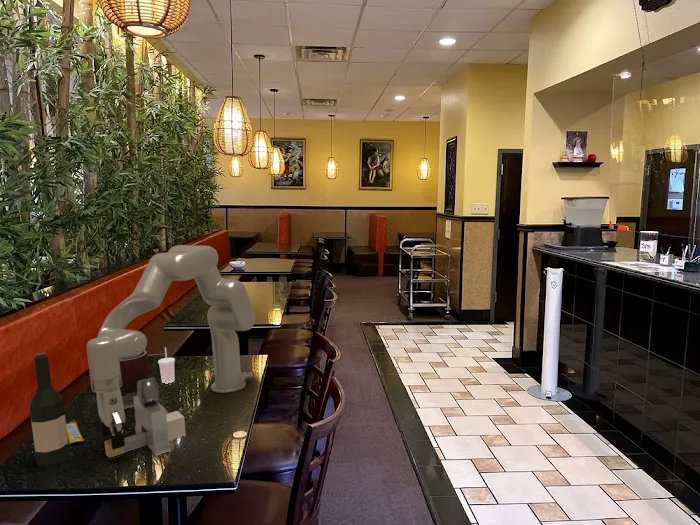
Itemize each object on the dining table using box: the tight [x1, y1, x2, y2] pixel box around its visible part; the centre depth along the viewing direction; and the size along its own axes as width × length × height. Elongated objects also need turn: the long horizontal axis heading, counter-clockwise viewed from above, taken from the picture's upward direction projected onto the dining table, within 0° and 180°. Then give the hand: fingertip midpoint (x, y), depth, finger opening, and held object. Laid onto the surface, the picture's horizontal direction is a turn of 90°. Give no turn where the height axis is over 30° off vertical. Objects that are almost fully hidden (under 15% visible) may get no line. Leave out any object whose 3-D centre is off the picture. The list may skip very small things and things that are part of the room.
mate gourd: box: [119, 349, 151, 410], centre depth 178 cm, size 16×14×20 cm
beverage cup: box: [157, 347, 176, 384], centre depth 196 cm, size 6×6×14 cm
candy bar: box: [66, 420, 85, 445], centre depth 155 cm, size 17×4×2 cm, turn 35°
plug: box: [104, 410, 187, 459], centre depth 147 cm, size 21×6×6 cm, turn 129°
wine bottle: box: [28, 352, 71, 468], centre depth 139 cm, size 8×8×30 cm
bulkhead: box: [133, 376, 172, 457], centre depth 147 cm, size 4×19×19 cm, turn 39°
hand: (113, 441), depth 142 cm, fingers open, 9 cm apart
